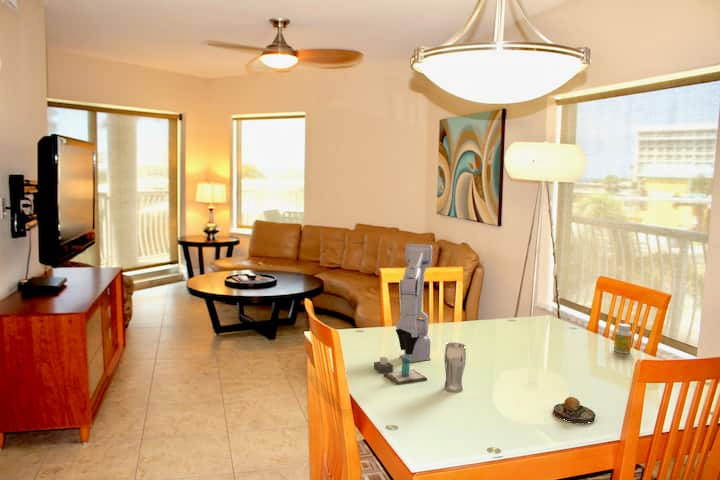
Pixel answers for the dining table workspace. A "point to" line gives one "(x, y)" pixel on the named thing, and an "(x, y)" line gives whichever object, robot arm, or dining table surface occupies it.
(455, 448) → the dining table surface
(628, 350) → the supplement bottle
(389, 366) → the button box
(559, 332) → the dining table surface
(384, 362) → the button cap
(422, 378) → the grey flat tray
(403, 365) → the marker
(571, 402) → the dark base with ball
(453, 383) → the beer glass
